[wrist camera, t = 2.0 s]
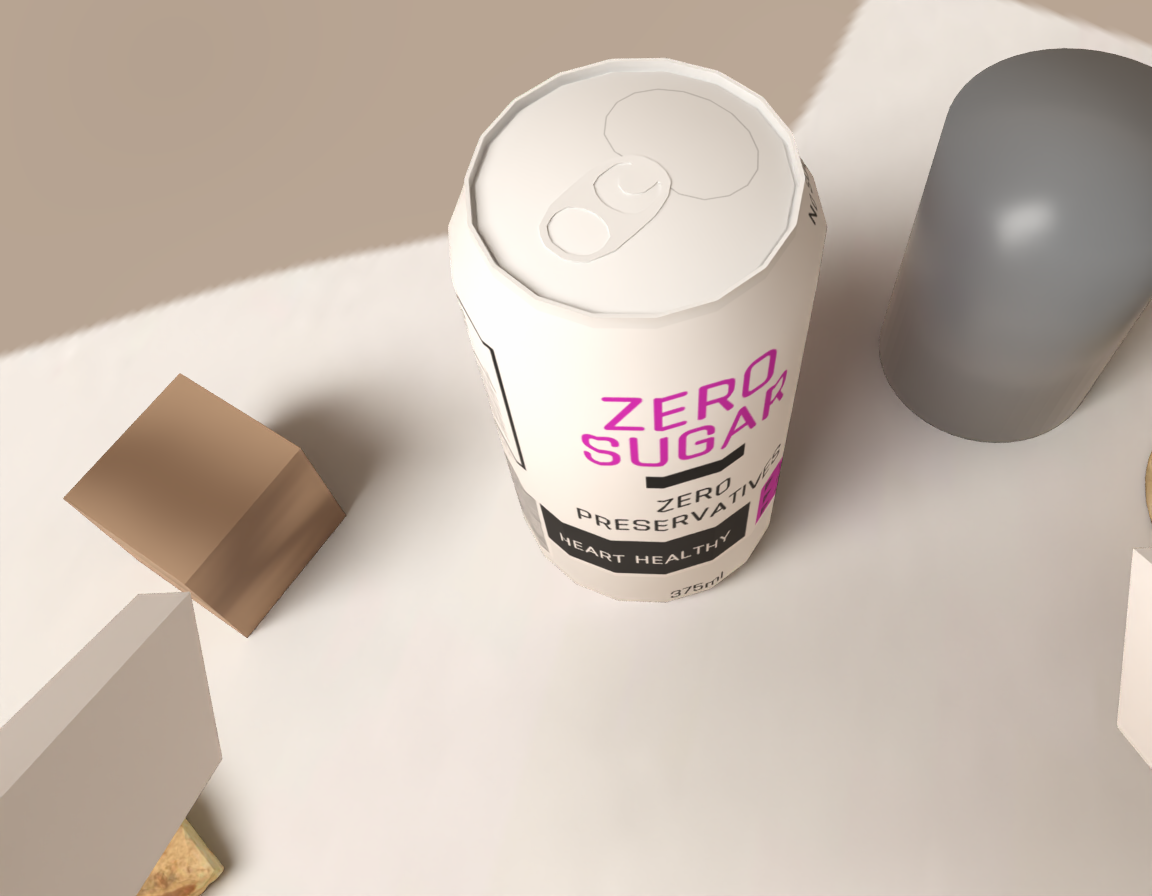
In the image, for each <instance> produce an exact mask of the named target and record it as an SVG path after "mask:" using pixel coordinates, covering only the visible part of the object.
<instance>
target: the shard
mask: <svg viewBox="0 0 1152 896" xmlns="http://www.w3.org/2000/svg"><path fill="white" fill-rule="evenodd" d="M223 871H224V867H223V865H222V864H221V863H220V862H219V860H218V859H217V857H216V856H215V855H214V854H213V853H212V852H211V851H210V850H209V849H208V848H207V846H206V844H205V843H204V841H203V840H202V839H201V837H200V836H199V835H198V834H197V832H196V831H195V830H194V828H193V827H192V826H191V824H190V823H189V822H188V820H187V819H186V818H185V819H184V821H183V822H182V824H181V825H180V827H179V829H178V830H177V832H176V833H175V835H174V836H173V838H172V840H171V841H170V843H169V844H168V846H167V848H166V849H165V851H164V852H163V854H162V856H161V857H160V859H159V860H158V862H157V864H156V865H155V867H154V868H153V870H152V871H151V873H150V875H149V876H148V878H147V879H146V881H145V883H144V884H143V886H142V887H141V889H140V891H139V892H138V894H137V895H136V896H199V895H201V894H202V893H203V892H204V891H205V889H206V888H207V886H208V885H209V884H210V883H212V882H213V881H215V880H216V879H217V878H218V877H219V875H220V874H221V873H222V872H223Z"/></svg>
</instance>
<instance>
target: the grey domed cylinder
mask: <svg viewBox="0 0 1152 896" xmlns="http://www.w3.org/2000/svg"><path fill="white" fill-rule="evenodd" d="M1151 298H1152V67H1150V66H1148V65H1145V64H1143V63H1140V62H1138V61H1135V60H1132V59H1129V58H1126V57H1122V56H1119V55H1116V54H1111V53H1106V52H1101V51H1094V50H1086V49H1067V48H1062V49H1046V50H1040V51H1033V52H1028V53H1024V54H1020V55H1016V56H1013V57H1010V58H1008V59H1005V60H1002V61H1000V62H998V63H996V64H994V65H992V66H990V67H988V68H986V69H985V70H983V71H982V72H980V73H979V74H978V75H976V76H975V77H974V78H972V79H971V80H970V81H969V82H968V83H967V84H966V85H965V86H964V87H963V88H962V90H961V91H960V92H959V93H958V95H957V96H956V97H955V99H954V101H953V103H952V105H951V106H950V109H949V111H948V114H947V117H946V120H945V123H944V127H943V130H942V133H941V136H940V140H939V143H938V146H937V149H936V153H935V156H934V159H933V163H932V166H931V169H930V172H929V176H928V179H927V182H926V185H925V189H924V192H923V195H922V198H921V202H920V205H919V208H918V211H917V215H916V218H915V221H914V224H913V228H912V231H911V234H910V237H909V241H908V244H907V247H906V250H905V254H904V257H903V260H902V263H901V267H900V270H899V273H898V276H897V280H896V283H895V286H894V289H893V293H892V296H891V299H890V303H889V306H888V309H887V312H886V316H885V319H884V322H883V325H882V329H881V334H880V339H879V353H880V360H881V364H882V368H883V371H884V374H885V376H886V378H887V380H888V382H889V384H890V386H891V387H892V389H893V390H894V392H895V393H896V395H897V396H898V397H899V399H900V400H901V401H902V402H903V403H904V404H905V405H906V406H907V407H908V408H909V409H910V410H911V411H912V412H913V413H914V414H916V415H917V416H918V417H920V418H921V419H923V420H924V421H925V422H927V423H929V424H930V425H932V426H934V427H936V428H938V429H940V430H942V431H944V432H947V433H949V434H951V435H954V436H958V437H961V438H964V439H968V440H974V441H979V442H990V443H1008V442H1016V441H1022V440H1026V439H1030V438H1034V437H1037V436H1039V435H1042V434H1044V433H1046V432H1049V431H1050V430H1052V429H1054V428H1055V427H1057V426H1059V425H1060V424H1061V423H1063V422H1064V421H1065V420H1066V419H1068V418H1069V417H1070V416H1071V415H1072V414H1073V412H1074V411H1075V410H1076V409H1077V408H1078V406H1079V405H1080V403H1081V402H1082V400H1083V399H1084V397H1085V396H1086V395H1087V393H1088V392H1089V390H1090V389H1091V387H1092V386H1093V384H1094V383H1095V381H1096V380H1097V378H1098V377H1099V375H1100V374H1101V372H1102V371H1103V369H1104V368H1105V366H1106V365H1107V363H1108V362H1109V360H1110V359H1111V358H1112V356H1113V355H1114V353H1115V352H1116V350H1117V349H1118V347H1119V346H1120V344H1121V343H1122V341H1123V340H1124V338H1125V337H1126V335H1127V334H1128V332H1129V331H1130V329H1131V328H1132V326H1133V325H1134V323H1135V322H1136V320H1137V319H1138V318H1139V316H1140V315H1141V313H1142V312H1143V310H1144V309H1145V307H1146V306H1147V304H1148V303H1149V301H1150V300H1151Z"/></svg>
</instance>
